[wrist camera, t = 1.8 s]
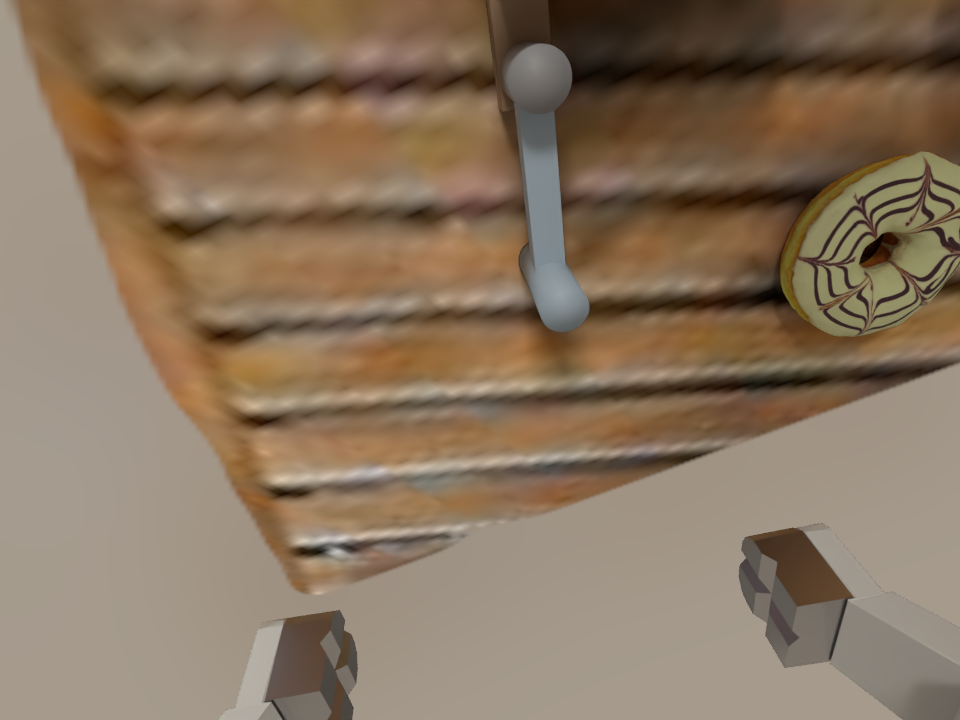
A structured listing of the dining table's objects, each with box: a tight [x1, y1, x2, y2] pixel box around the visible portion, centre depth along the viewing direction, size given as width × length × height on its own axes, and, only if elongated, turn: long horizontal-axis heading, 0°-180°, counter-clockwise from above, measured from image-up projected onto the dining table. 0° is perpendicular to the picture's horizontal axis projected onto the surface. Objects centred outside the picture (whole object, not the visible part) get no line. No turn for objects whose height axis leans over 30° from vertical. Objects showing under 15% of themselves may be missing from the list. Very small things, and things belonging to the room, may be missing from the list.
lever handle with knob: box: [500, 42, 589, 332], centre depth 27 cm, size 12×3×7 cm, turn 9°
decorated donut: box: [780, 151, 960, 337], centre depth 33 cm, size 10×11×4 cm
